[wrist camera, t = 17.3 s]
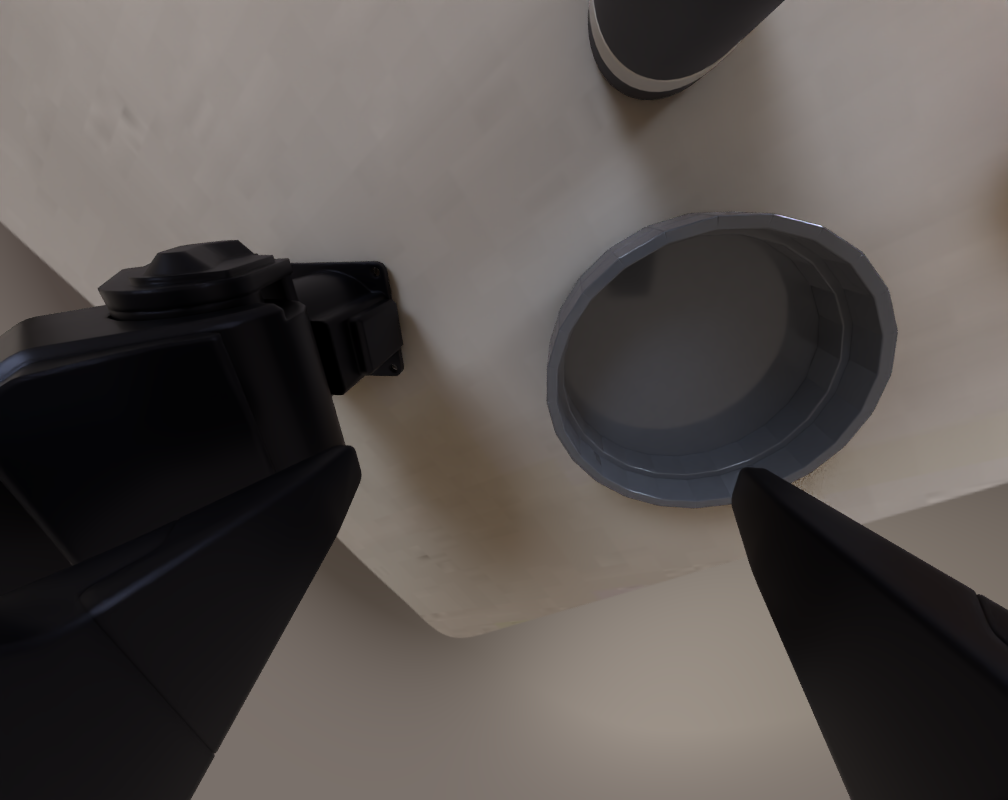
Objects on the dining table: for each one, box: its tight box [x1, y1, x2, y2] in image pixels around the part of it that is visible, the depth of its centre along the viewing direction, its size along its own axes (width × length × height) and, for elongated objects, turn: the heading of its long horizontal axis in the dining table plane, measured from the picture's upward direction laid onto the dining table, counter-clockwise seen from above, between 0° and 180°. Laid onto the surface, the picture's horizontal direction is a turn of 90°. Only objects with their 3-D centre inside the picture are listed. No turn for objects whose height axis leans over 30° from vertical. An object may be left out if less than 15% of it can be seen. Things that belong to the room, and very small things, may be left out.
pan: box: [547, 211, 898, 508], centre depth 18 cm, size 14×14×4 cm
